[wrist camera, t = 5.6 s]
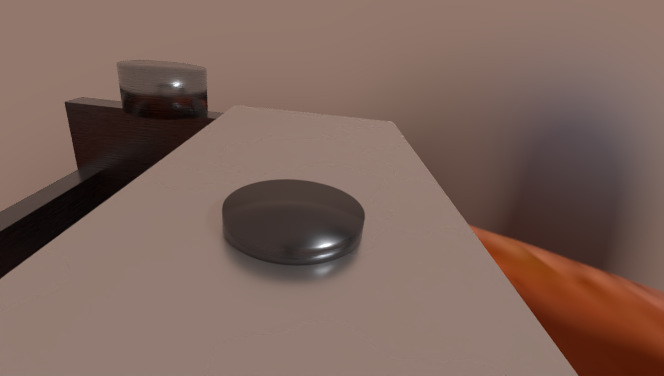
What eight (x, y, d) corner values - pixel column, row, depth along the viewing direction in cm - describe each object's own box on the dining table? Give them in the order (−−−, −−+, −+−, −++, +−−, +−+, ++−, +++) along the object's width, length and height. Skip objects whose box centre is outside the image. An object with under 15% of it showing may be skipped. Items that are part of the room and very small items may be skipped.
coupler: (261, 239, 27) (267, 72, 22) (210, 393, 15) (197, 116, 10) (123, 226, 26) (96, 51, 21) (-36, 375, 15) (-176, 74, 10)
